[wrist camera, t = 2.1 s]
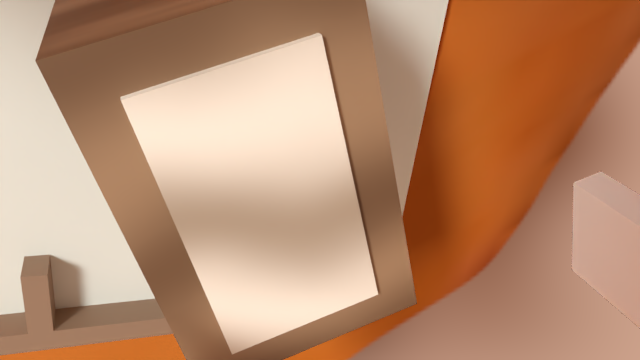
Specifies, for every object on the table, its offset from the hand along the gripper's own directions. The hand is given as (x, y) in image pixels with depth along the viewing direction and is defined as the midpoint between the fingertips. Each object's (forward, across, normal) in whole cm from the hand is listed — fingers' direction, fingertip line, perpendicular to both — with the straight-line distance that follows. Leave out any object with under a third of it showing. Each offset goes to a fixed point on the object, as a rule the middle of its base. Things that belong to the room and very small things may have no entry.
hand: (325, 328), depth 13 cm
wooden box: (+14, 0, 0) cm, 14 cm away
